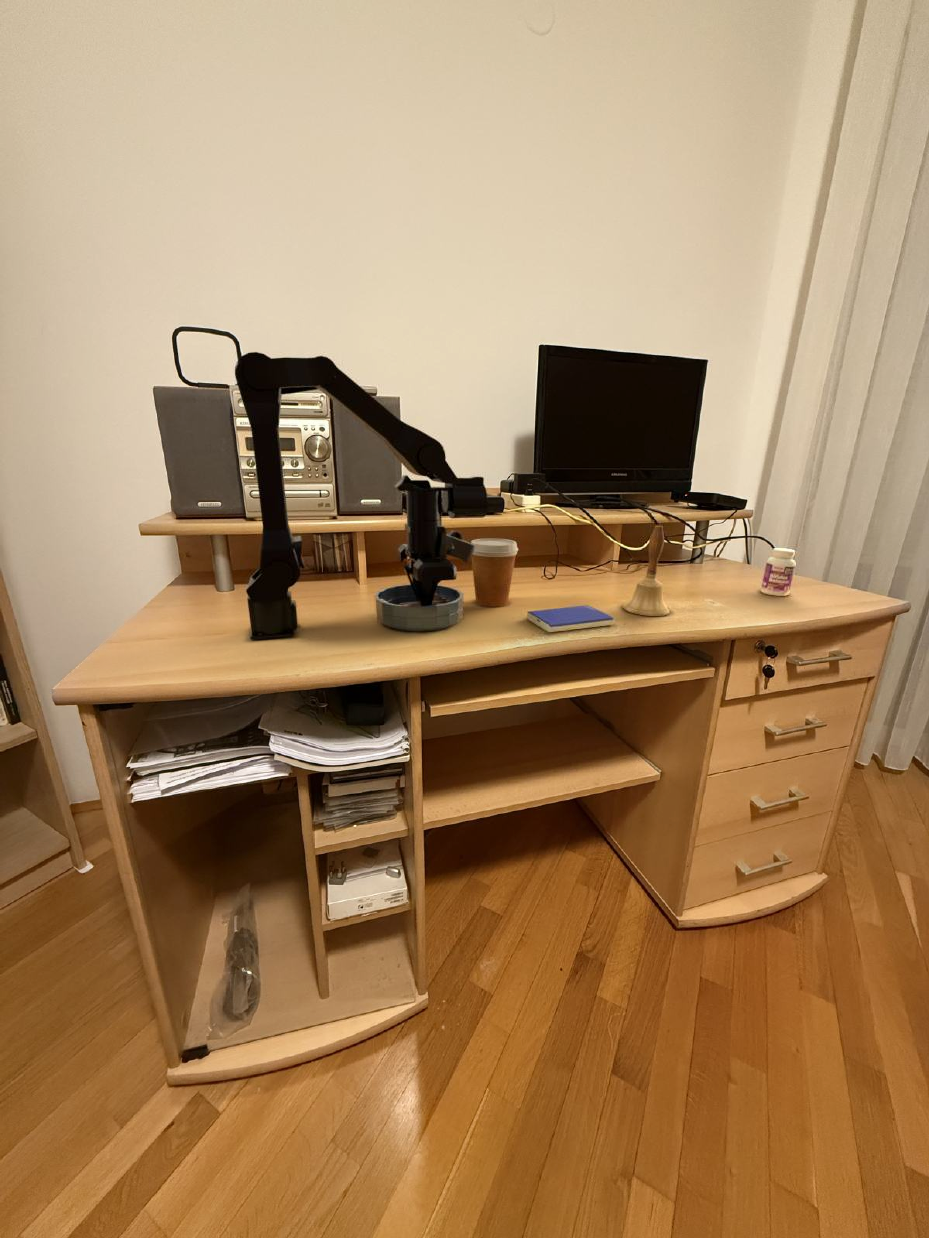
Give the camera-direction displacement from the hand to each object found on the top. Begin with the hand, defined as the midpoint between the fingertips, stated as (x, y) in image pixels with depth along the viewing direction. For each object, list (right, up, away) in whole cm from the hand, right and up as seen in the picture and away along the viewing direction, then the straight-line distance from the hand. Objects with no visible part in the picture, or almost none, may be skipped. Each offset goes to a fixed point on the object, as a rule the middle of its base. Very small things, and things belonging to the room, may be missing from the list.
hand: (424, 609), depth 86 cm
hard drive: (+25, -2, 0) cm, 25 cm away
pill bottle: (+75, +4, +22) cm, 78 cm away
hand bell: (+42, 0, +8) cm, 42 cm away
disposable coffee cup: (+12, +1, +11) cm, 17 cm away
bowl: (-1, -2, 0) cm, 2 cm away
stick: (0, -1, 0) cm, 1 cm away
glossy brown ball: (+2, 0, +4) cm, 4 cm away
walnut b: (-2, -2, -3) cm, 4 cm away
